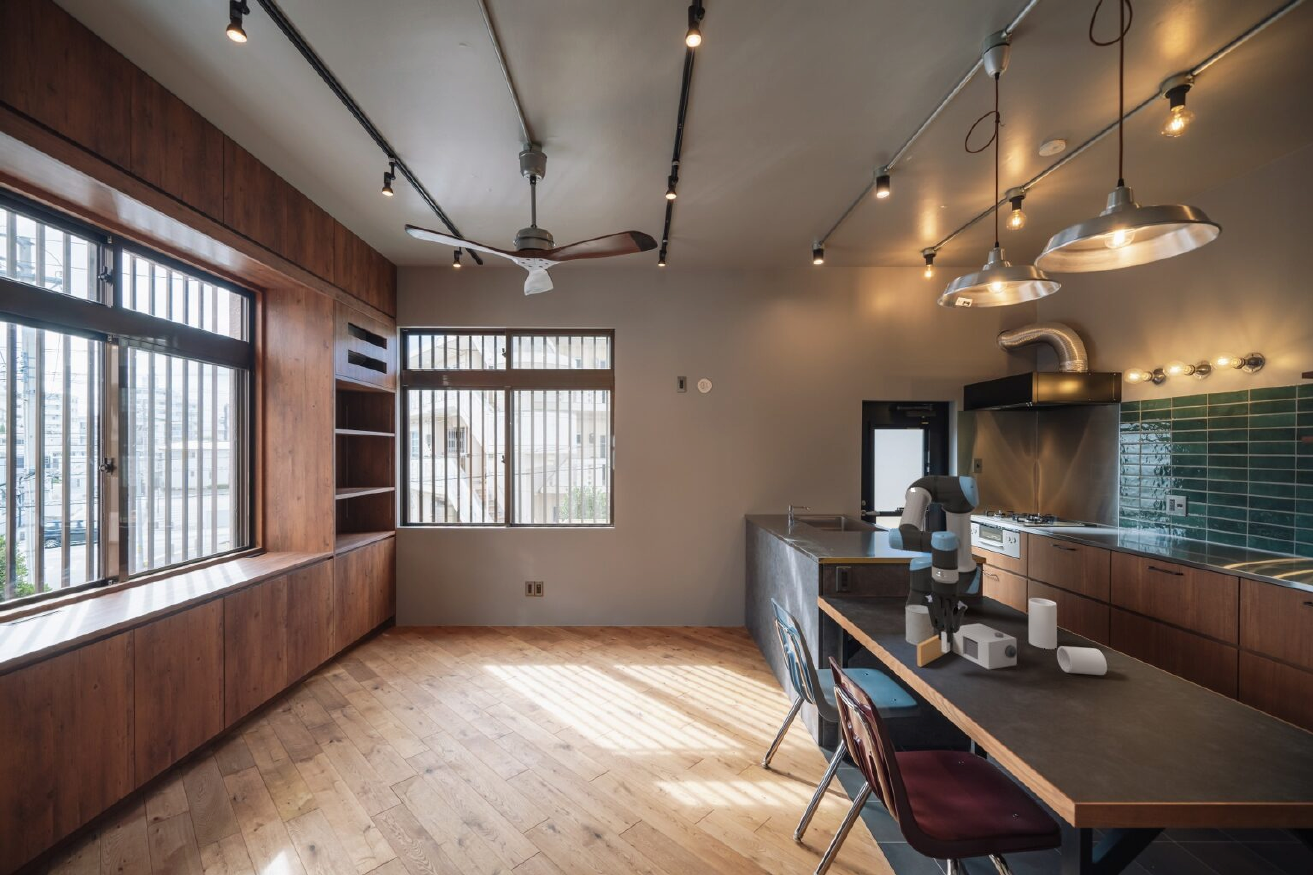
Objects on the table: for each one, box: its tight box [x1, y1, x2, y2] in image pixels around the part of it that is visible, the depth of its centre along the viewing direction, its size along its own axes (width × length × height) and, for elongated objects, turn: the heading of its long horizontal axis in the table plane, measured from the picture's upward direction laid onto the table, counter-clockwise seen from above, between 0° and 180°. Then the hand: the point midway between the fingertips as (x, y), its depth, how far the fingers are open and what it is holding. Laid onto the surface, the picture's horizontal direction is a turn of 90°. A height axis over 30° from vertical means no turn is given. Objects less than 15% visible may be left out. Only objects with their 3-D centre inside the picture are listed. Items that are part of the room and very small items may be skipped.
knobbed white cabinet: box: [952, 622, 1017, 670], centre depth 172 cm, size 15×12×10 cm
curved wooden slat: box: [916, 634, 952, 667], centre depth 172 cm, size 22×2×7 cm, turn 126°
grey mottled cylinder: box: [905, 605, 935, 646], centre depth 187 cm, size 10×10×12 cm
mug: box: [1056, 645, 1108, 676], centre depth 164 cm, size 12×10×8 cm
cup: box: [1028, 597, 1058, 650], centre depth 183 cm, size 8×8×16 cm
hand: (945, 650), depth 162 cm, fingers closed
